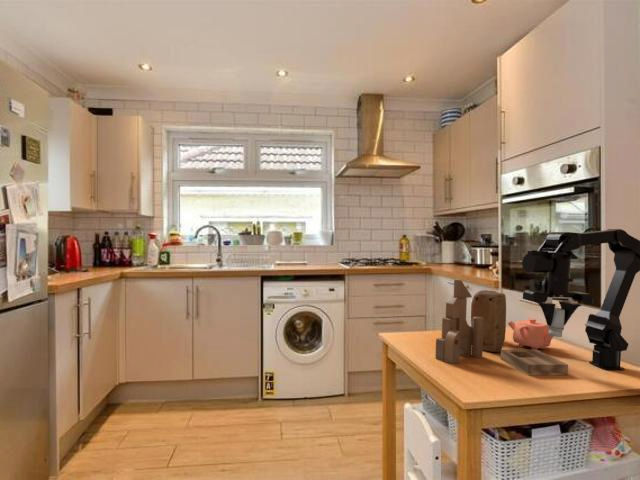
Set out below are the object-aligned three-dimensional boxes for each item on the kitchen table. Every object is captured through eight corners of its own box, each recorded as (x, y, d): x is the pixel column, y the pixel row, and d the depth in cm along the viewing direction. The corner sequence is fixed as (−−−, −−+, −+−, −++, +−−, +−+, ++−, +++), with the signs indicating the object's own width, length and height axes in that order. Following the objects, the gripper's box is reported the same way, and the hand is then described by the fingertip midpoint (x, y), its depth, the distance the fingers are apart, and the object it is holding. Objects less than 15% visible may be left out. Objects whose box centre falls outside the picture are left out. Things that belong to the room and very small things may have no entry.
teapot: (511, 349, 134) (512, 320, 134) (506, 340, 146) (507, 313, 145) (558, 354, 130) (559, 324, 130) (549, 345, 141) (550, 317, 141)
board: (536, 359, 124) (536, 349, 124) (567, 375, 110) (568, 364, 110) (500, 358, 123) (501, 349, 123) (527, 375, 109) (528, 364, 109)
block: (507, 351, 132) (509, 292, 132) (495, 354, 128) (497, 294, 127) (477, 343, 141) (480, 288, 140) (465, 346, 136) (468, 289, 136)
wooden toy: (452, 364, 116) (455, 282, 116) (435, 358, 122) (437, 279, 121) (484, 357, 124) (487, 280, 124) (466, 351, 130) (469, 277, 130)
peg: (556, 333, 118) (558, 307, 118) (566, 337, 114) (568, 310, 114) (544, 333, 118) (545, 307, 118) (553, 337, 114) (555, 310, 113)
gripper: (568, 272, 124) (565, 320, 125) (513, 270, 123) (510, 318, 123) (595, 275, 113) (592, 328, 114) (536, 273, 112) (533, 327, 112)
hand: (555, 325), depth 116 cm, fingers closed on peg, 4 cm apart
